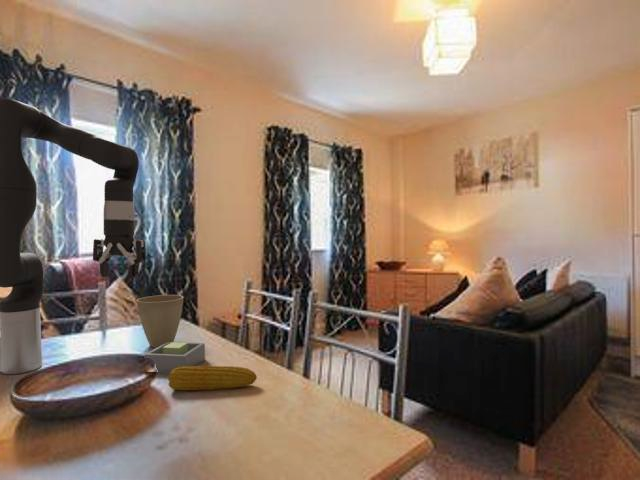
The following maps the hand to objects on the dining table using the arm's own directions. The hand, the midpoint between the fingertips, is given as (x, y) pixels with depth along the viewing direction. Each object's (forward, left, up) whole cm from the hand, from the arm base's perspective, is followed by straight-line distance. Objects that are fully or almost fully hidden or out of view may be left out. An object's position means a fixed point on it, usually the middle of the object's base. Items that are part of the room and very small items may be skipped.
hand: (119, 277), depth 108 cm
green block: (+12, +7, -26) cm, 29 cm away
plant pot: (-4, +26, -27) cm, 38 cm away
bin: (+12, +7, -27) cm, 30 cm away
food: (+29, -6, -27) cm, 40 cm away
